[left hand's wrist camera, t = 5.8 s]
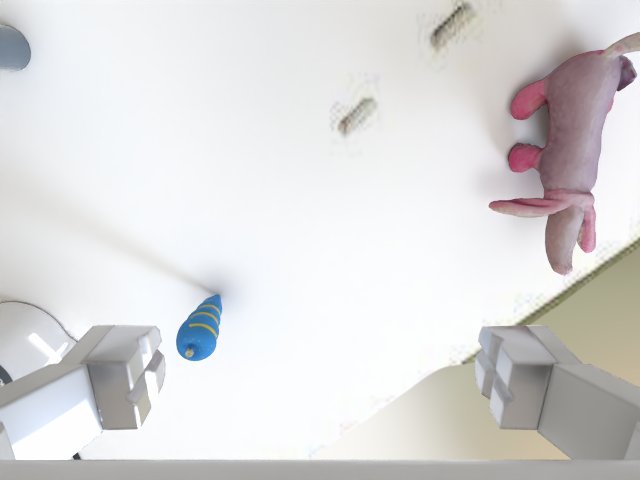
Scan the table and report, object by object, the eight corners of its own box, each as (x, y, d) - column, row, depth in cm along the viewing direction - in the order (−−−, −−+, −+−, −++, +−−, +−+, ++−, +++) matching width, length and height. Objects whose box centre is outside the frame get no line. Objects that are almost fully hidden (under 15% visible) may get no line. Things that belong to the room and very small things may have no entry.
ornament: (239, 292, 64) (217, 351, 50) (224, 317, 65) (198, 380, 51) (209, 276, 63) (177, 331, 49) (194, 301, 64) (159, 362, 50)
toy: (437, 185, 57) (495, 228, 44) (561, 28, 51) (674, 21, 37) (522, 248, 64) (595, 301, 50) (641, 116, 57) (761, 136, 44)
